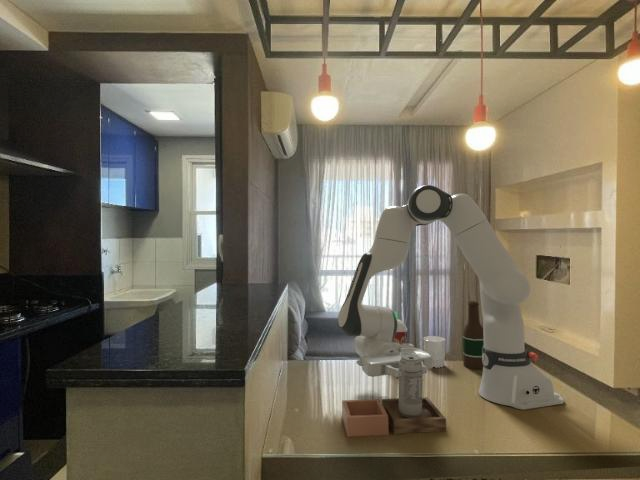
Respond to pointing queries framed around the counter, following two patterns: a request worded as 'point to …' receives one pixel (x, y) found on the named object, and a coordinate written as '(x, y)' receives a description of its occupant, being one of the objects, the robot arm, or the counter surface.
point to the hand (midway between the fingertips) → (412, 372)
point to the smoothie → (400, 332)
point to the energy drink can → (410, 386)
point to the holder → (364, 417)
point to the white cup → (435, 349)
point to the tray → (424, 423)
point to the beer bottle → (473, 339)
